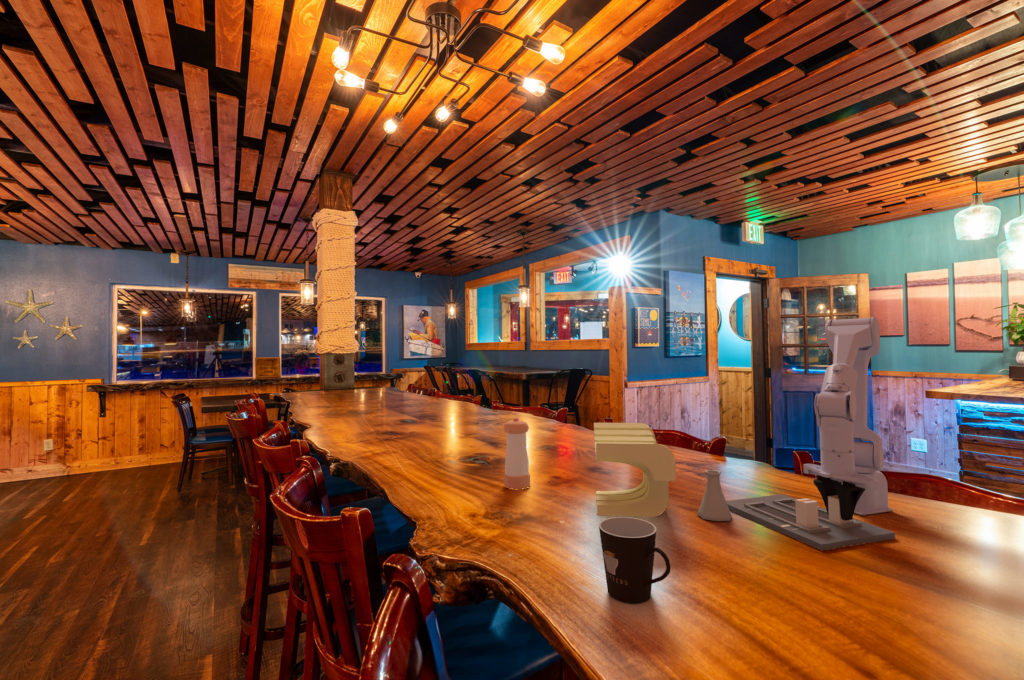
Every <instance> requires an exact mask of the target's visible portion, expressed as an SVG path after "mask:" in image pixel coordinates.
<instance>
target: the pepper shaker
mask: <svg viewBox="0 0 1024 680" xmlns="http://www.w3.org/2000/svg"><path fill="white" fill-rule="evenodd" d="M529 429H530V427H529V424H528V422H526V421H524V420H521V419H519V417H514V418H513V419H512V420H509V421H506V422H505V424H504V426H503V430H504V432H505V433H506V450H505V451H506V452H505V460H504V468H505V470H504V471H505V473H504V474H503V484H504V485H505V486H506V487H508V488H513V489H522V488H527V487H529V486H530V487H531V473H530V471H529V469H530V468H529V465H530V464H529V463H530V462H529V456H528V455H529V454H528V450H527V433H528V431H529ZM504 485H503V486H504Z"/></svg>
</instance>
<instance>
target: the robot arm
mask: <svg viewBox="0 0 1024 680" xmlns="http://www.w3.org/2000/svg"><path fill="white" fill-rule="evenodd" d="M824 328H825V329H824V332H825V333H824V334H825V340H826V342H827V344H828V346H829V350H830V351H831V353H832V355H833V357H832V364H831V365H829V366H827V368H826V369H825V372H824V376H823V381H822V385H821V391H820V393H816V394H815V396H814V403H813V405H814V406H813V407H814V413H815V416H816V417H815V418H816V425H817V427H818V428H819V443H820V444H819V447H820V465H819V464H815V463H814V464H813V463H803V473H804V474H806V475H814V476H817V478H814V479H813V484H814V486H815V487H816V488H817V490H818V492H819V494H820V495H821V496H820V497H821V498H822V501H823V503H824V507H825V509H826V510H827V513H828V515H829V510H828V496H834V495H838V499H839V504H840V515H841V519H842V520H845V521H846V520H852V518H854V514H856V515H860V516H868V515H874V514H880V513H881V514H882V513H886V512H887V513H888V512H893V508H891V507H889V495H888V494H889V492H888V490H889V489H888V480H887V479H886V476H885V475H884V474H883V473H882V472H881V470H882V469H883V468H884V462H885V459H884V458H885V456H884V447H883V439H882V438H881V436H880V434H878V433H876V432H875V431H873V430H871V429H870V428H869V427H868V385H869V383H868V373H869V371H868V370H869V369H868V367H869V364H870V361H871V358H873V357H875V356H877V355H879V354H880V352H879V351H880V350H881V340H880V339H881V327H880V322H879V319H878V318H876V316H871V317H860V318H859V317H857V318H848V319H847V318H846V319H845V318H840V319H828V320H827V321H826V322H825V326H824Z"/></svg>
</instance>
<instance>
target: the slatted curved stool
mask: <svg viewBox="0 0 1024 680" xmlns="http://www.w3.org/2000/svg"><path fill="white" fill-rule="evenodd" d="M654 432H655V431H653V429H652V427H650V426H649V425H648V424H646V423H643V422H593V434H594V435H593V438H594V453H595V461H596V462H606V463H607V462H608V463H611V462H612V463H619V464H625V465H630V466H634V467H636V468H638V469H640V470H641V471H642V476H643V477H642V478H643V479H642V481H641V483H640V484H639V485H638V486H636V487H633V488H631V489H623V490H596V491H595V500H596V514H597V516H615V517H643V518H644V517H645V518H646V517H647V518H653V517H654V518H655V517H659V516H660V515H662V514H663V513H664V512H665V511H666V509H667V508H668V505H669V491H670V490H669V487H670V486H669V483H670V482H676V481H677V477H676V476H677V475H676V469H677V467H676V458H675V455H674V453H673V452H672V450H671V449H670V448H669V447H668V446H666V445H663V444H659V443H658V442H657V438H656V435H655V433H654Z"/></svg>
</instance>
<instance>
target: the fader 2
mask: <svg viewBox="0 0 1024 680" xmlns="http://www.w3.org/2000/svg"><path fill="white" fill-rule="evenodd" d="M828 510H829V521H832V522H835V523H838V524H842V523H849V522H851V520H846V521H845V520H842V519H841V515H840V504H839V499H838V495H834V496H828Z"/></svg>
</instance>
